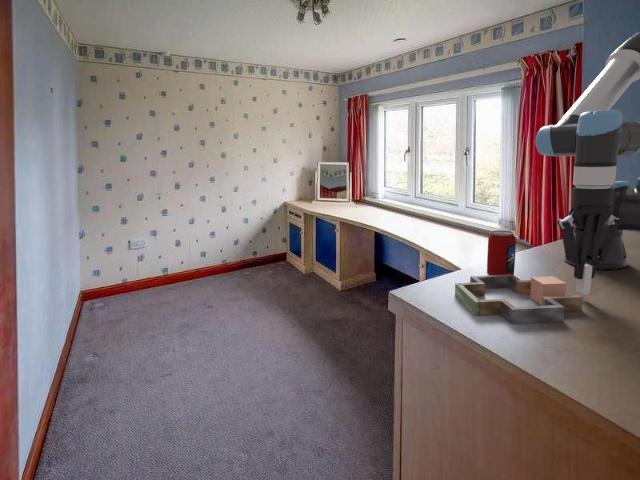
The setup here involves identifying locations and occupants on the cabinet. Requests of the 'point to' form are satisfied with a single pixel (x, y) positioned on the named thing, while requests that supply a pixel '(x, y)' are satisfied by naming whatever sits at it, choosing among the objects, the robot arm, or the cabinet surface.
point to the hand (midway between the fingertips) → (582, 292)
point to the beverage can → (501, 253)
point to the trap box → (546, 312)
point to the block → (546, 288)
